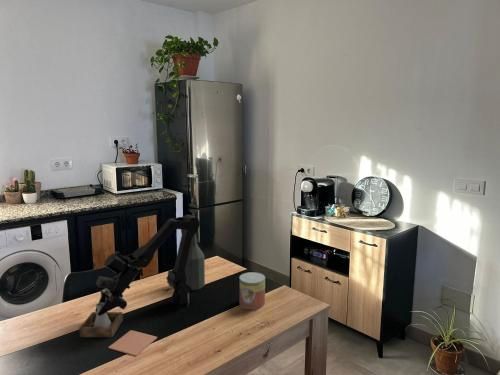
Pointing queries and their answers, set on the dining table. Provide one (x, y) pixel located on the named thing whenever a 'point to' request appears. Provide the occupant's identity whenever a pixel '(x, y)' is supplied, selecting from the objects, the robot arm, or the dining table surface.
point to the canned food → (252, 290)
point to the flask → (101, 318)
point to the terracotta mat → (133, 343)
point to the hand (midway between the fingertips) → (97, 313)
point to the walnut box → (101, 331)
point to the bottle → (195, 267)
